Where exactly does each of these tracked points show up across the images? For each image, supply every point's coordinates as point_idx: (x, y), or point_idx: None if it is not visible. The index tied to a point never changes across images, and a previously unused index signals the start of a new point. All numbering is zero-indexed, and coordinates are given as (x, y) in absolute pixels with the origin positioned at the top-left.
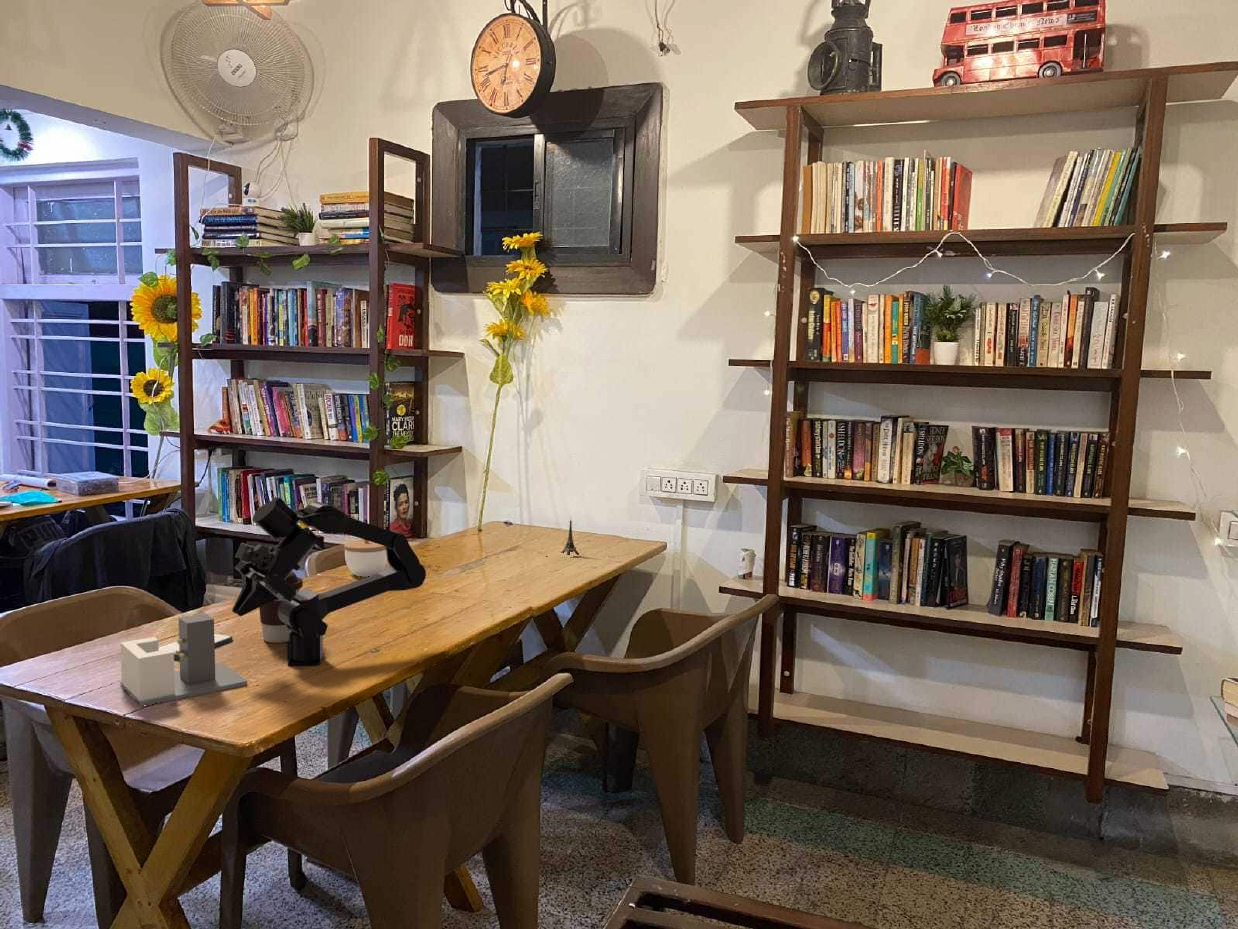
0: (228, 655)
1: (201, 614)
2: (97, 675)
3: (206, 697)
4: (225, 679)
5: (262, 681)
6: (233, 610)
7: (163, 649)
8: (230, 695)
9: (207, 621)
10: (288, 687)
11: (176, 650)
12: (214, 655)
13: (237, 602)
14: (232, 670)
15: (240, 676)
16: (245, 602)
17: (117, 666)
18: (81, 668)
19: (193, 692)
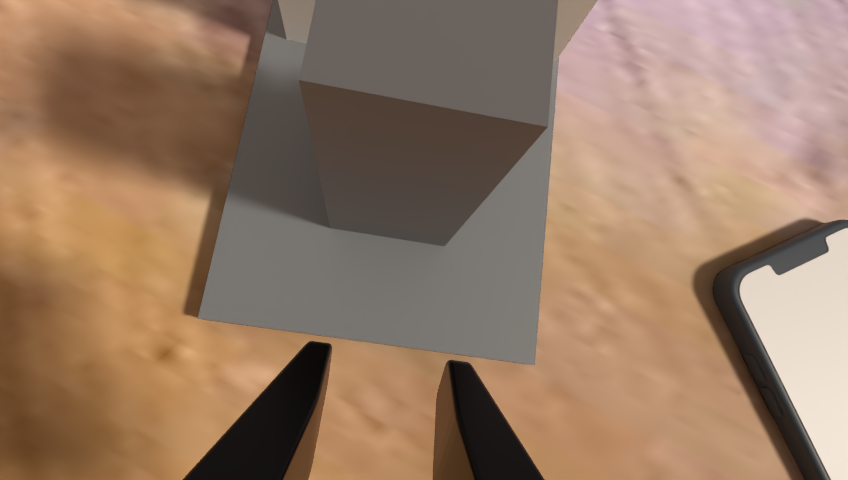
0: (661, 467)
1: (533, 86)
2: (716, 4)
3: (203, 128)
4: (297, 259)
5: (194, 398)
6: (446, 368)
7: (842, 257)
8: (143, 203)
9: (309, 31)
10: (6, 449)
11: (800, 290)
12: (323, 192)
13: (466, 436)
14: (391, 344)
15: (283, 328)
16: (211, 448)
17: (775, 87)
18: (818, 6)
19: (251, 93)
